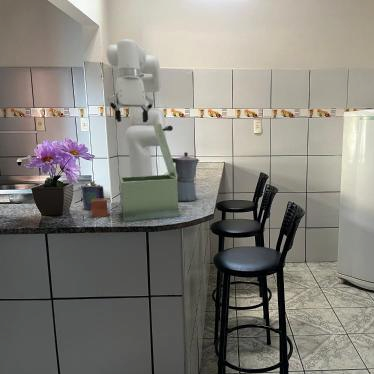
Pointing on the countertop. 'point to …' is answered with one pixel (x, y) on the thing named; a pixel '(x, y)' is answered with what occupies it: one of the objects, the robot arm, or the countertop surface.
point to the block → (99, 207)
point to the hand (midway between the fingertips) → (132, 121)
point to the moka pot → (185, 177)
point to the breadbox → (148, 197)
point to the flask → (91, 194)
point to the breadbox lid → (165, 148)
